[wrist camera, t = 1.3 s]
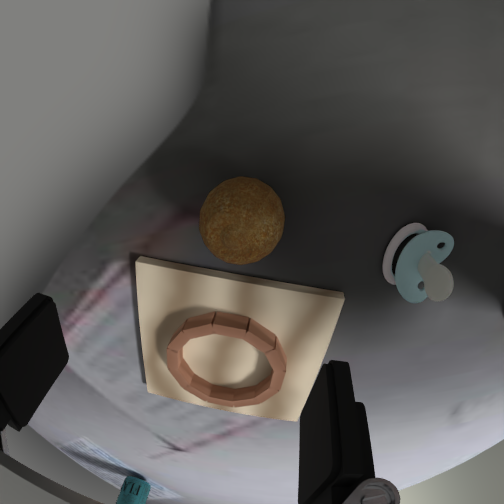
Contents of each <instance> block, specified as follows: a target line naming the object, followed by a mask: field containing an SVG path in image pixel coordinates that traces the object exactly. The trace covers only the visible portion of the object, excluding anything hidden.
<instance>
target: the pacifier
mask: <svg viewBox="0 0 504 504" xmlns="http://www.w3.org/2000/svg"><path fill="white" fill-rule="evenodd" d="M415 233H418V235H417V236H415V237H414V238H412V239H411V240H410V241H409V242H408V243H407V244H406V246H405V247H404V248H403V250H402V252H401V254H400V256H399V258H398V261H397V265H396V270H395V274H393V272H392V260H393V257H394V254H395V252H396V250H397V248H398V246H399V245H400V244H401V242H402V241H403V240H404V239H405V238H406V237H408V236H409V235H411V234H415ZM441 242H444V243H445V245H444V247H442V248H437V245H438V244H439V243H441ZM453 247H454V239H453V237H452V236H451V235H450V234H448V233H447V232H444V231H440V230H431V231H428V230H427V229H426V227H425V226H424V225H422V224H421V223H412V224H408V225H406V226H405V227H403V228H402V229H401V230H399V231H398V232H397V233H396V234H395V236H394V237H393V238H392V240H391V241H390V243H389V245H388V247H387V249H386V252H385V255H384V259H383V274H384V277H385V279H386V280H387V282H389V283H391V284H393V285H396V286H397V289H398V291H399V293H400V294H401V296H402V297H403V298H404V299H405V300H406V301H408V302H410V303H420V302H422V301H423V300H425V299H426V298H427V297H429V298H430V299H431V300H433V301H437V302H439V301H443V300H445V299H447V298H448V297H449V296H450V294H451V293H452V290H453V286H454V281H453V276H452V274H451V272H450V271H449V269H448V268H446V267H445V266H443V265H441V264H439V263H441V262H442V261H443V260H445V259H446V258H447V257H448V255H449V254H450V253H451V251H452V249H453ZM421 281H424V287H423V288H422V289H418V284H419V282H421Z"/></svg>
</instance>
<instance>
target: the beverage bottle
mask: <svg viewBox="0 0 504 504" xmlns="http://www.w3.org/2000/svg"><path fill="white" fill-rule="evenodd" d="M124 480H125V481H124V483H123V485H122V487H121V492H120V494H119V497H118V500H117V502H116V504H145V503H146V502H147V501H146V500H147V499H148V494H149V491H150V485H149V484H148V483H147V482H145V481H143V480H141V479H139V478H136V477H132V476H127V477H126V478H125V479H124Z"/></svg>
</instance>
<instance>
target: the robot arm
mask: <svg viewBox="0 0 504 504" xmlns="http://www.w3.org/2000/svg"><path fill="white" fill-rule="evenodd" d="M68 359H69V355H68V351H67V347H66V344H65V340H64V337H63V333H62V329H61V325H60V321H59V317H58V313H57V308H56V304H55V303H54V302H53V299H52V298H51V297H49V296H46V295H43V294H40V293H37V294H35V295H34V296H33V297H32V298H31V299H30V300H29V301H28V302H27V303H26V304H25V305H24V306H23V307H22V308H21V309H20V310H19V311H18V312H17V313H16V314H15V315H14V316H13V317H12V318H11V319H10V320H9V321H8V322H7V323H6V324H5V325H4V326H3V327H2V328H1V329H0V504H103V503H100V502H98V501H95V500H93V499H91V498H88V497H86V496H84V495H81V494H79V493H77V492H74V491H72V490H70V489H68V488H66V487H64V486H62V485H60V484H58V483H56V482H54V481H52V480H50V479H48V478H46V477H44V476H42V475H41V474H39V473H37V472H35V471H33V470H32V469H30V468H28V467H26V466H25V465H23V464H21V463H20V462H18V461H16V460H15V459H13V458H11V457H10V456H9V451H8V445H7V439H6V432H5V427H6V425H7V424H8V425H9V426H11V427H12V428H14V429H15V430H17V431H20V430H21V428H22V427H24V426H26V425H27V424H28V422H29V421H30V419H31V417H32V416H33V414H34V413H35V411H36V410H37V408H38V406H39V405H40V403H41V402H42V400H43V399H44V397H45V396H46V394H47V392H48V391H49V389H50V388H51V386H52V385H53V383H54V382H55V380H56V379H57V377H58V376H59V374H60V373H61V372H62V370H63V369H64V367H65V366H66V364H67V362H68ZM298 504H400V495H399V492H398V490H397V488H396V487H395V486H394V485H393V484H392V483H391V482H390V481H387V480H385V479H382V478H375V471H374V464H373V456H372V449H371V442H370V435H369V429H368V422H367V416H366V410H365V406H364V404H363V403H361V402H355V398H354V391H353V385H352V379H351V373H350V367H349V363H348V362H343V361H335V360H330V361H329V363H328V364H323V365H322V368H321V370H320V372H319V374H318V377H317V379H316V381H315V383H314V386H313V388H312V390H311V392H310V394H309V397H308V399H307V401H306V403H305V405H304V407H303V409H302V412H301V416H300V450H299V488H298Z"/></svg>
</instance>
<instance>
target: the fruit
mask: <svg viewBox="0 0 504 504" xmlns="http://www.w3.org/2000/svg"><path fill="white" fill-rule="evenodd" d="M284 222H285V214H284V211H283V207H282V203H281V199H280V198H279V197H278V195H277V194H276V193H275V191H274V190H273V189H272V188H271V187H270V186H269V185H267V184H265V183H264V182H262V181H260V180H258V179H257V178H249V177H242V176H240V177H236V178H232V179H228V180H225V181H223V182H222V183H220V184H219V185H218V186H217V187H215V188H214V189H213V190H212V191H210V192H209V194H208V196H207V198H206V200H205V202H204V204H203V205H202V207H201V209H200V221H199V230H200V233H201V236H202V239H203V241H204V244H205V245H206V247H207V248H208V249H209V250H210V251H211V252H212V253H213V255H214V256H216V257H217V258H219V259H221V260H223V261H225V262H226V263H231V264H238V265H243V264H248V263H253V262H258V261H259V260H261V259H262V258H264V257H265V256H267V255H268V254H270V253H271V252H272V251H273V249H274V248H275V246H276V245H277V243H278V242H279V240H280V239H281V237H282V234H283V228H284Z"/></svg>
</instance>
